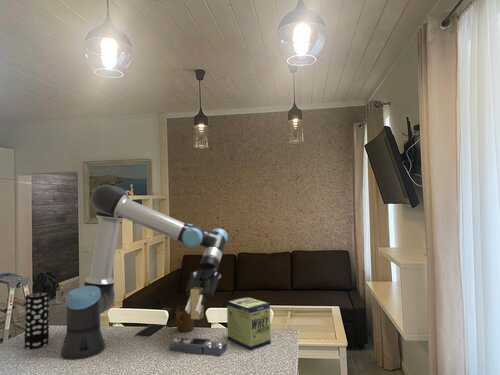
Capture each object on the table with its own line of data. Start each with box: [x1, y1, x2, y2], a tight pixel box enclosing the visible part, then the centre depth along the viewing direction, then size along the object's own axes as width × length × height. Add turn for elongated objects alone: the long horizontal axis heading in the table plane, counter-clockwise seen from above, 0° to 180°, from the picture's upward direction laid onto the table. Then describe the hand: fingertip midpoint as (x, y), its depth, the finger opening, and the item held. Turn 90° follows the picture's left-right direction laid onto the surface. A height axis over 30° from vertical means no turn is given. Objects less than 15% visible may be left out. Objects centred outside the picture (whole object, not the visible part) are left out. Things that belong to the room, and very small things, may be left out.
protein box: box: [226, 296, 272, 351], centre depth 139 cm, size 10×16×16 cm
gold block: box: [190, 286, 205, 321], centre depth 132 cm, size 4×4×11 cm
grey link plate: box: [168, 337, 228, 357], centre depth 131 cm, size 21×7×3 cm, turn 71°
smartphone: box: [133, 323, 167, 339], centre depth 153 cm, size 8×1×15 cm
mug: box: [175, 305, 195, 333], centre depth 153 cm, size 12×8×9 cm, turn 166°
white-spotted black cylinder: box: [23, 292, 50, 350], centre depth 141 cm, size 8×8×20 cm
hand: (192, 312), depth 129 cm, fingers closed on gold block, 4 cm apart
